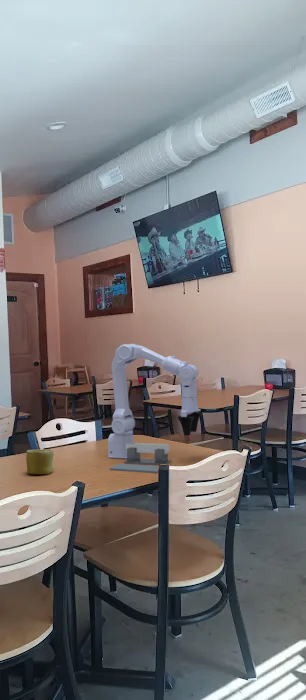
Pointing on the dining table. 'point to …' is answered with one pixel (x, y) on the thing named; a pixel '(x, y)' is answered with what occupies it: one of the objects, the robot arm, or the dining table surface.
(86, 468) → the dining table surface
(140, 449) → the rail
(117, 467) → the mat
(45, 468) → the mug
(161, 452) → the rack
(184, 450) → the dining table surface
